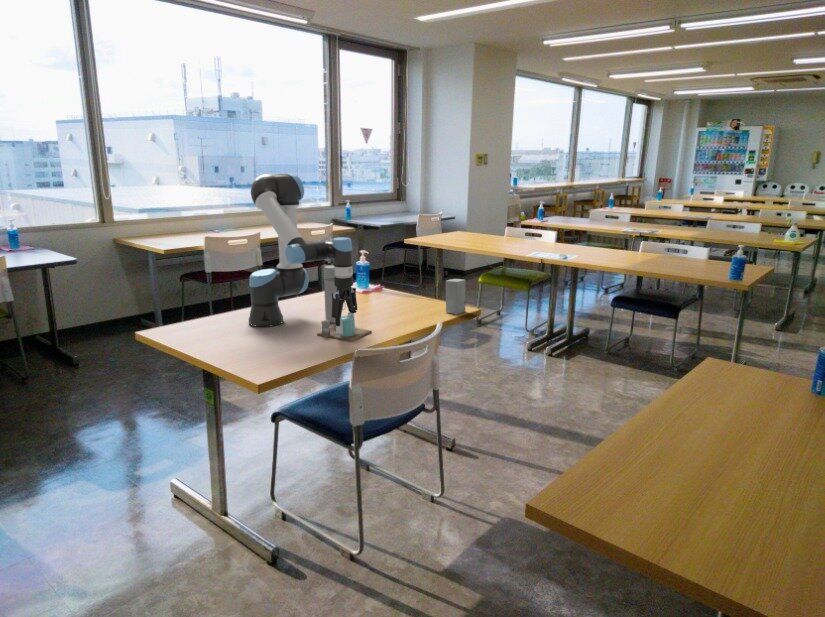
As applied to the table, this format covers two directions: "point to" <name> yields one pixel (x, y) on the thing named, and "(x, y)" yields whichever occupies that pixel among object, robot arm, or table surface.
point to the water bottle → (329, 291)
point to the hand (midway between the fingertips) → (345, 330)
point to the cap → (348, 326)
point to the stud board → (332, 333)
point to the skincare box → (455, 296)
